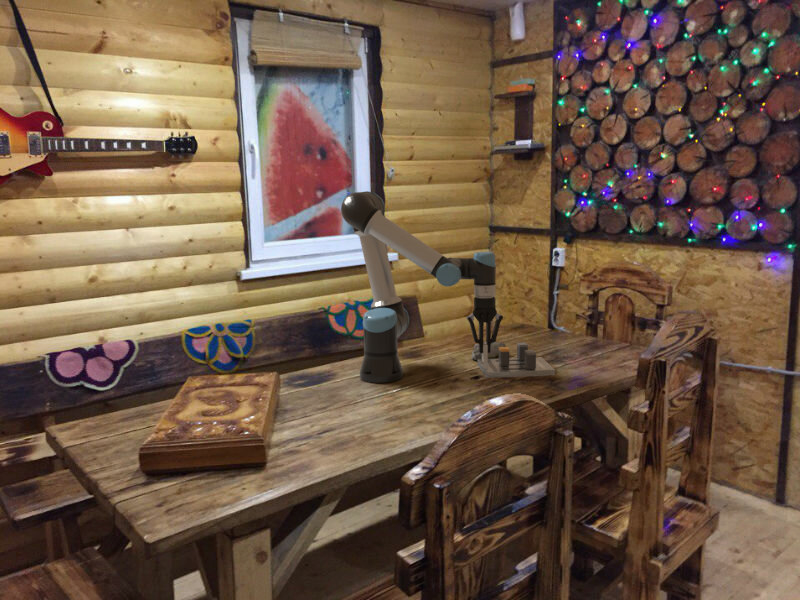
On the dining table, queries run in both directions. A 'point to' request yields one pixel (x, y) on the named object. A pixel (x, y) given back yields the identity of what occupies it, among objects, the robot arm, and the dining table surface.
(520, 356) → the breaker far
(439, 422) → the dining table surface
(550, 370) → the panel
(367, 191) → the robot arm
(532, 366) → the breaker near
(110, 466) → the dining table surface
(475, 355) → the mineral specimen
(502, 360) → the breaker middle
